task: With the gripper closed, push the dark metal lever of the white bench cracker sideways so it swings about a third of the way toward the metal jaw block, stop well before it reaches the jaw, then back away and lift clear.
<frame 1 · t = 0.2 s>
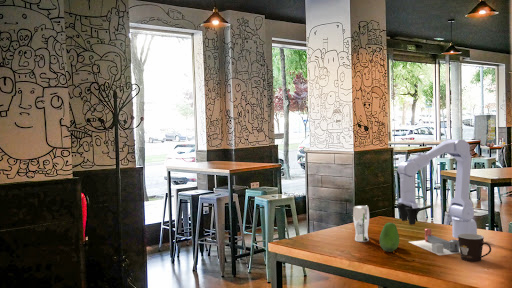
hand: (408, 222, 205), 10 cm above the table, tool pointing down, fingers open, 7 cm apart
lever: (441, 239, 197), point 4 cm above the table, hinge at 0.0°
cracker base: (440, 249, 197), on the table
coffee mug: (473, 265, 177), on the table
beer glass: (361, 240, 217), on the table
avocado: (389, 252, 198), on the table
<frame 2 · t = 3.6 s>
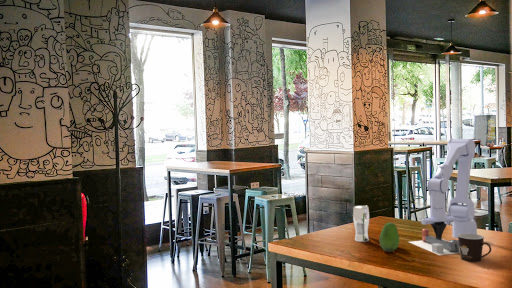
hand: (438, 240, 199), 3 cm above the table, tool pointing down, fingers closed, pressing on lever
lever: (439, 239, 197), point 4 cm above the table, hinge at 3.9°, touching gripper
everything else where it was.
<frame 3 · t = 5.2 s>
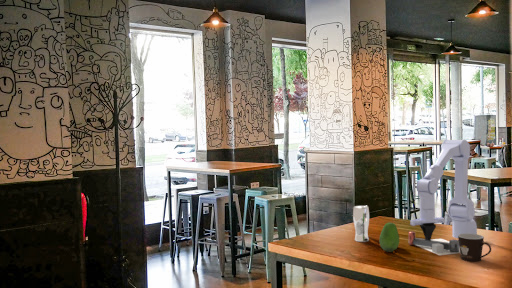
hand: (427, 241, 198), 3 cm above the table, tool pointing down, fingers closed
lever: (433, 241, 195), point 4 cm above the table, hinge at 31.6°, touching gripper
everything else where it was.
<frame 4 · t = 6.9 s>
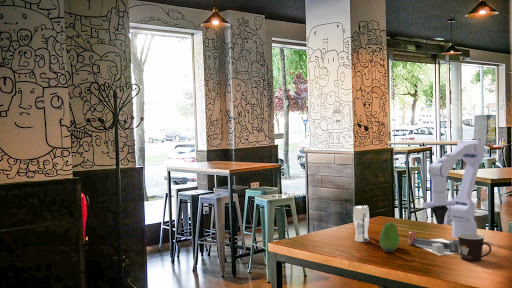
hand: (439, 224, 203), 9 cm above the table, tool pointing down, fingers closed
lever: (433, 241, 195), point 4 cm above the table, hinge at 31.7°
everything else where it was.
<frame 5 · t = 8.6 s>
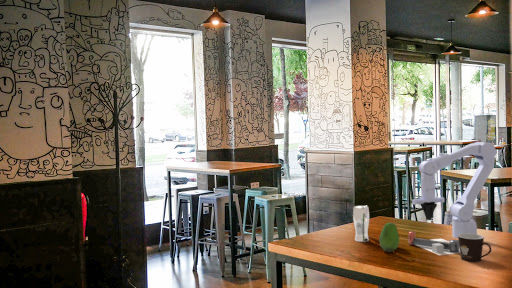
hand: (428, 219, 212), 9 cm above the table, tool pointing down, fingers closed
nothing on the table moved.
at the end: lever at +32° (first picture: +0°); beer glass moved 0.2 cm from its start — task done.
